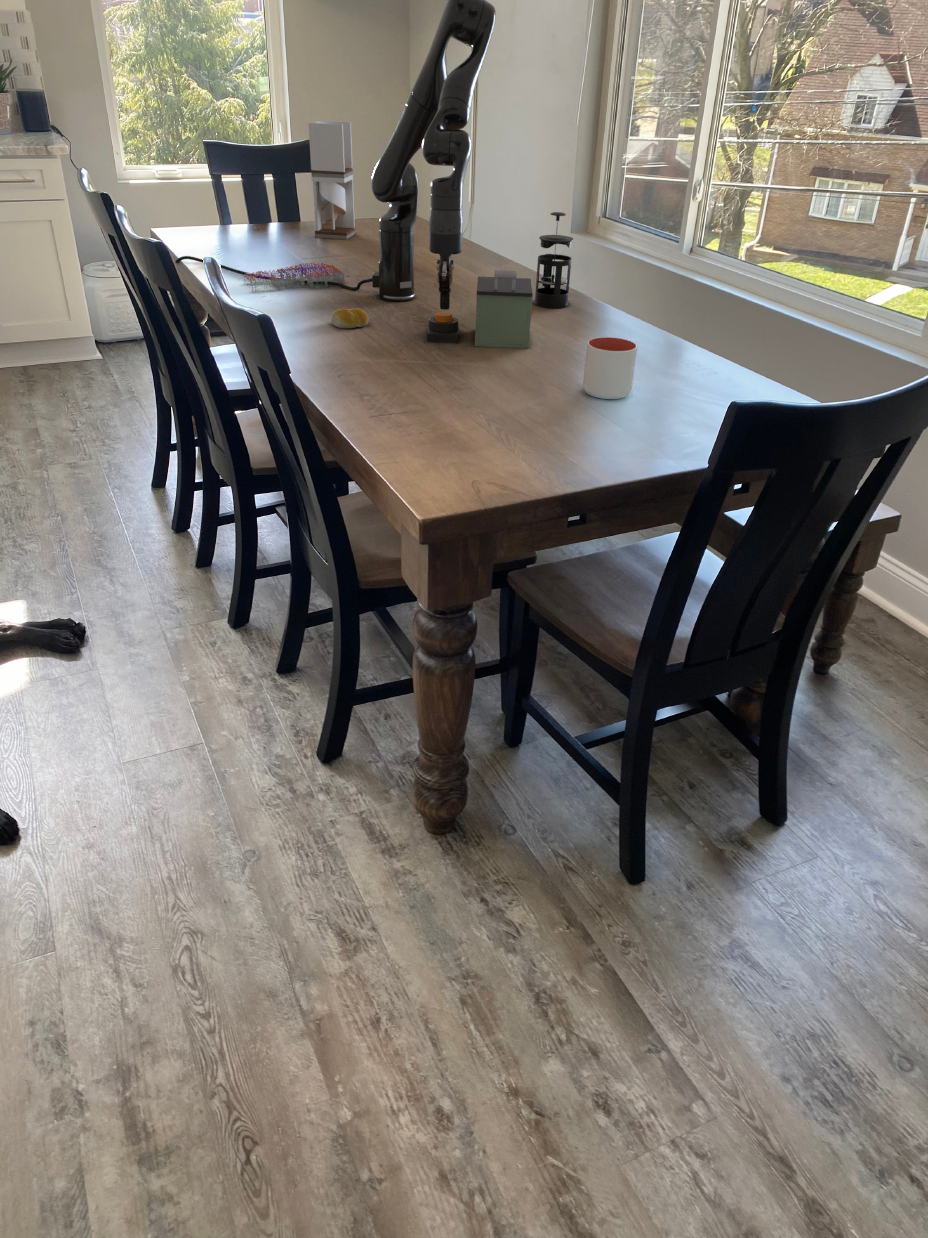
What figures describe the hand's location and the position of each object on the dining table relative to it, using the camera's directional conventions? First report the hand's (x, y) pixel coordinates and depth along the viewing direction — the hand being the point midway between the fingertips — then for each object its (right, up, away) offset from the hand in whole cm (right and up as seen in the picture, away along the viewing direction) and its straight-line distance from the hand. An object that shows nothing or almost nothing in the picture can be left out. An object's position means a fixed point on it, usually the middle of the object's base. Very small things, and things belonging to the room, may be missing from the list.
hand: (444, 308), depth 210 cm
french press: (+28, +13, +34) cm, 46 cm away
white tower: (-41, +62, +104) cm, 128 cm away
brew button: (0, -2, +2) cm, 3 cm away
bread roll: (-24, -1, +10) cm, 26 cm away
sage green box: (+14, -6, +3) cm, 15 cm away
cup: (+34, -27, -27) cm, 51 cm away
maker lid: (+14, +4, -3) cm, 15 cm away
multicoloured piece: (-43, +22, +43) cm, 64 cm away
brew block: (0, -5, +4) cm, 7 cm away
